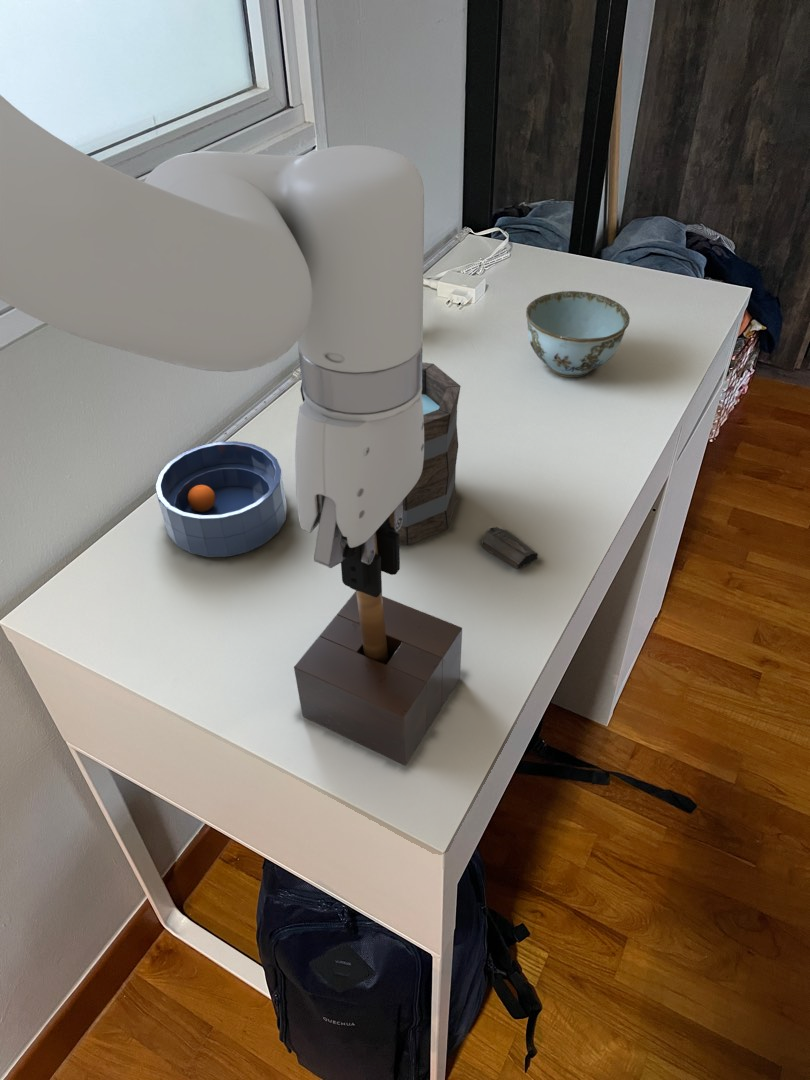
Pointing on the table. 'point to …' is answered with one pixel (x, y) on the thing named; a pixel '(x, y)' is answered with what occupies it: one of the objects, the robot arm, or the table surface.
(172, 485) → the mixing bowl
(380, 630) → the stick
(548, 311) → the bowl
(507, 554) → the block
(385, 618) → the holder
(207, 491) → the ball
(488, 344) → the table surface
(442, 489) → the mug
